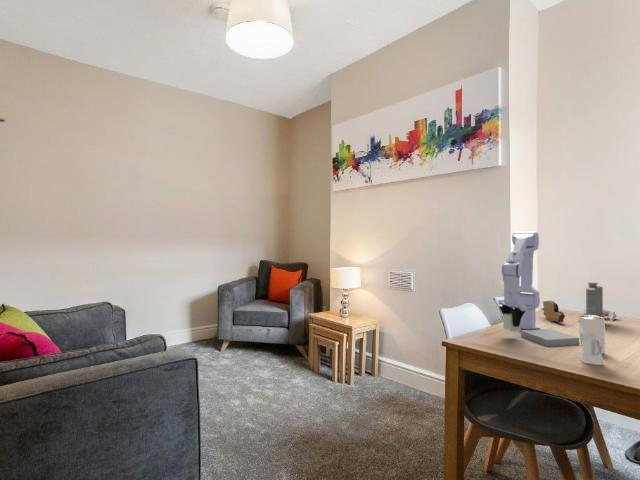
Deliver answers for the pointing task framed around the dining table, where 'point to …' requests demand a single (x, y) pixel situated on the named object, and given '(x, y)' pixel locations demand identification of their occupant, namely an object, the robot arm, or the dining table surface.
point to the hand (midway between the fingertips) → (511, 324)
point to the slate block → (550, 337)
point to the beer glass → (592, 339)
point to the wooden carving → (552, 311)
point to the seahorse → (604, 314)
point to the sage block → (509, 322)
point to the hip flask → (594, 300)
